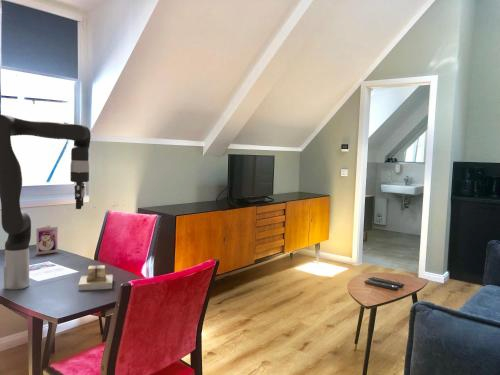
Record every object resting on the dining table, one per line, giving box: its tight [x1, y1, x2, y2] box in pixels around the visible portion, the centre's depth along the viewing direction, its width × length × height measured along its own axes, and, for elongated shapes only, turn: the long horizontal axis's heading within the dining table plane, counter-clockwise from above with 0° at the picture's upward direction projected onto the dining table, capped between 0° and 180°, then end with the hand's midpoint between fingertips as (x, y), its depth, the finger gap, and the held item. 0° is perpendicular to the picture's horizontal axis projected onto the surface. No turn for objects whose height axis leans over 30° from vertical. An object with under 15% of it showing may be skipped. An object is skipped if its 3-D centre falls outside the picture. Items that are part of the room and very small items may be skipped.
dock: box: [77, 274, 114, 291], centre depth 187 cm, size 14×12×3 cm
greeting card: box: [35, 225, 58, 255], centre depth 240 cm, size 11×7×15 cm, turn 132°
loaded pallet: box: [86, 264, 107, 282], centre depth 187 cm, size 8×5×6 cm, turn 107°
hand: (79, 207), depth 180 cm, fingers open, 8 cm apart
